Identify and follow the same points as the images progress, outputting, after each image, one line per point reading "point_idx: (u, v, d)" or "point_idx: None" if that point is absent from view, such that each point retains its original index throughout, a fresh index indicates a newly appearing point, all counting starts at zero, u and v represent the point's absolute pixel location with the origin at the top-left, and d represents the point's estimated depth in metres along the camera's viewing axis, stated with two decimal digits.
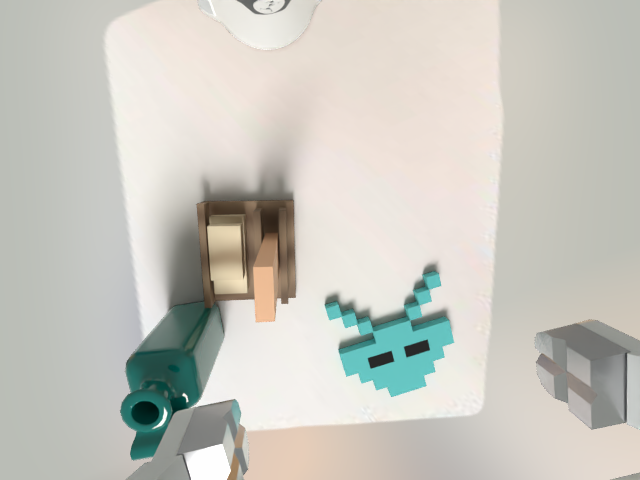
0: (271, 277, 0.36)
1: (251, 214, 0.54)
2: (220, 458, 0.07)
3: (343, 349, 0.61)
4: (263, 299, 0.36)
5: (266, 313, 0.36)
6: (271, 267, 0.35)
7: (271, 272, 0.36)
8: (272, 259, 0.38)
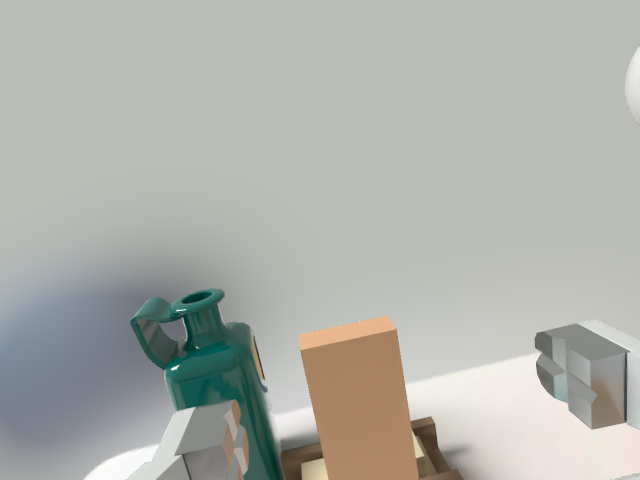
0: (377, 331, 0.21)
1: None
2: (220, 458, 0.07)
3: None
4: (337, 332, 0.22)
5: (313, 340, 0.22)
6: (394, 329, 0.21)
7: (385, 330, 0.21)
8: None
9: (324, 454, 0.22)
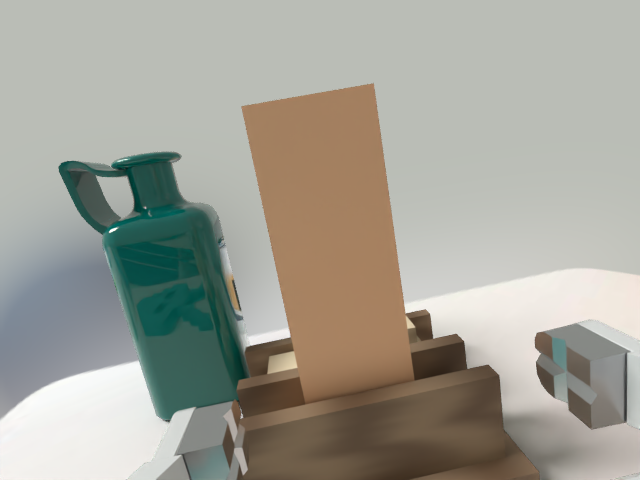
0: None
1: None
2: (220, 458, 0.07)
3: None
4: None
5: None
6: (370, 85, 0.16)
7: None
8: (381, 149, 0.16)
9: (278, 269, 0.17)
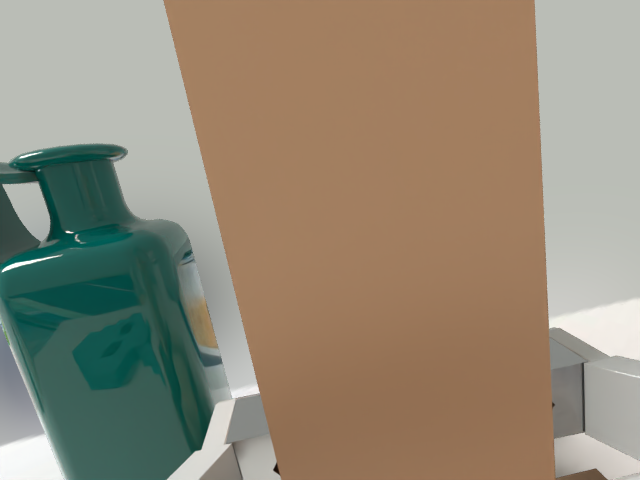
0: None
1: None
2: (268, 447, 0.07)
3: None
4: None
5: None
6: None
7: None
8: None
9: (270, 415, 0.07)
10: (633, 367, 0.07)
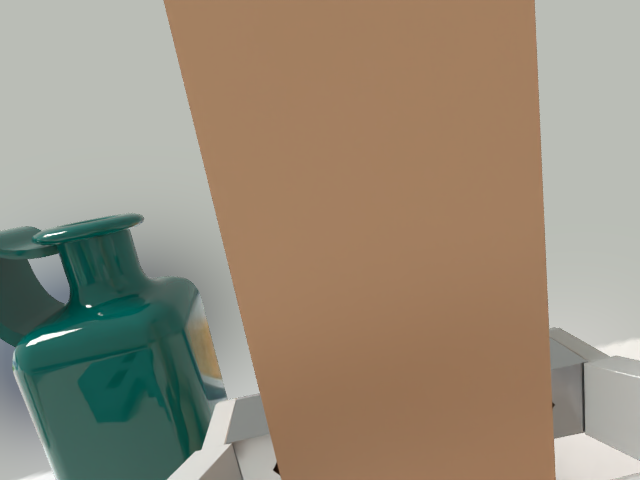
0: None
1: None
2: (268, 447, 0.07)
3: None
4: None
5: None
6: None
7: None
8: None
9: (270, 415, 0.07)
10: (633, 367, 0.07)
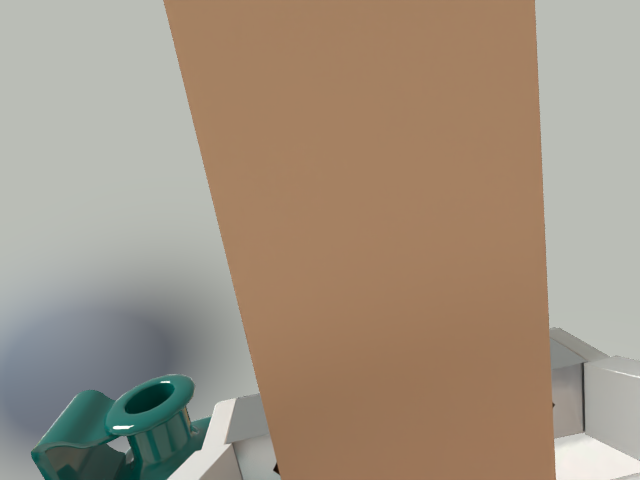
0: None
1: None
2: (268, 447, 0.07)
3: None
4: None
5: None
6: None
7: None
8: None
9: (270, 415, 0.07)
10: (634, 368, 0.07)
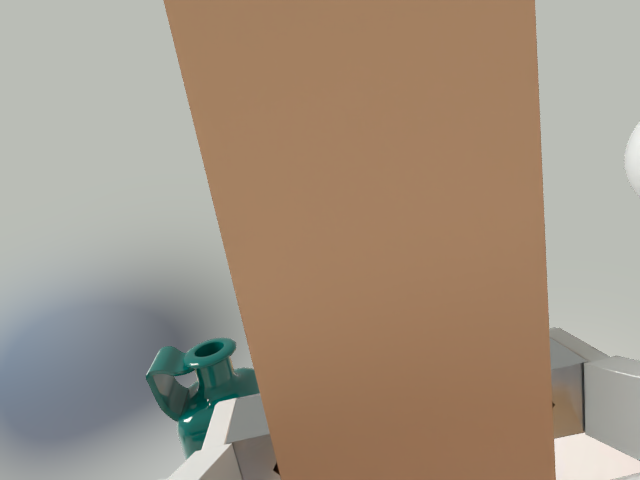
0: None
1: None
2: (268, 447, 0.07)
3: None
4: None
5: None
6: None
7: None
8: None
9: (270, 415, 0.07)
10: (634, 368, 0.07)
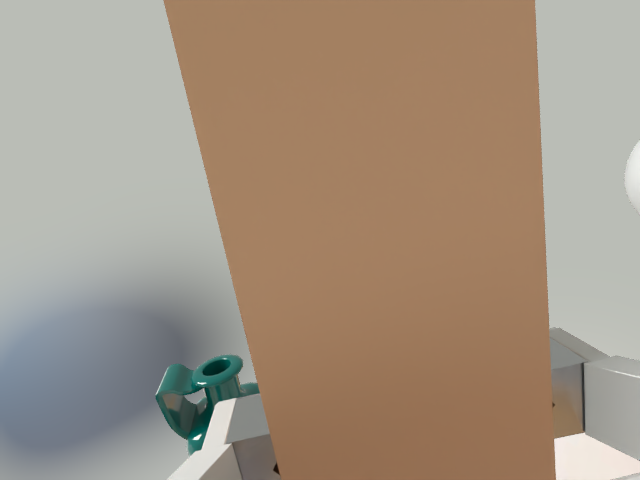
0: None
1: None
2: (268, 447, 0.07)
3: None
4: None
5: None
6: None
7: None
8: None
9: (270, 414, 0.07)
10: (634, 368, 0.07)
